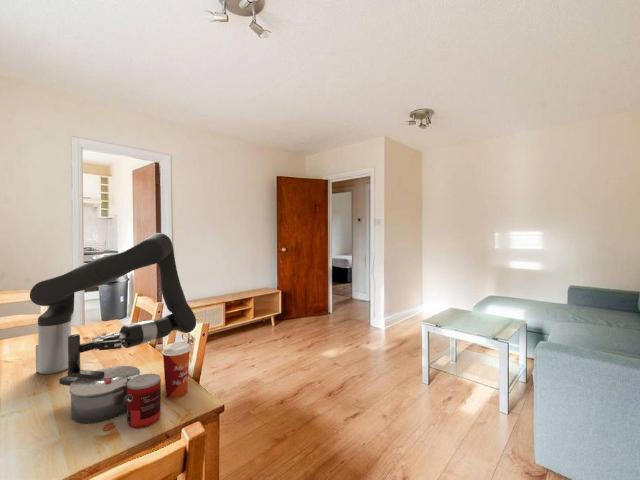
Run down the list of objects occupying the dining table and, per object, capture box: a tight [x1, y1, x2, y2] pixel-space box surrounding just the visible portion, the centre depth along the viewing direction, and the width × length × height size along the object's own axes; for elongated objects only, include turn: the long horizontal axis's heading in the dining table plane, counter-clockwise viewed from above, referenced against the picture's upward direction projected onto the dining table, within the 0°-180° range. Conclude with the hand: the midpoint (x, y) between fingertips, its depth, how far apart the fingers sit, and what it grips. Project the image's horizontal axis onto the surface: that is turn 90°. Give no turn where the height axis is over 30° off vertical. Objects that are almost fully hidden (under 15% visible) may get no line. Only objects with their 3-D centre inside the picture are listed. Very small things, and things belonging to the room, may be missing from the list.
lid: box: [66, 333, 141, 397], centre depth 88 cm, size 23×17×13 cm
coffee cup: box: [161, 341, 192, 399], centre depth 96 cm, size 8×8×15 cm
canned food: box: [126, 373, 162, 429], centre depth 82 cm, size 8×8×11 cm
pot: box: [58, 375, 127, 425], centre depth 89 cm, size 28×16×7 cm, turn 76°
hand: (78, 348), depth 92 cm, fingers closed
